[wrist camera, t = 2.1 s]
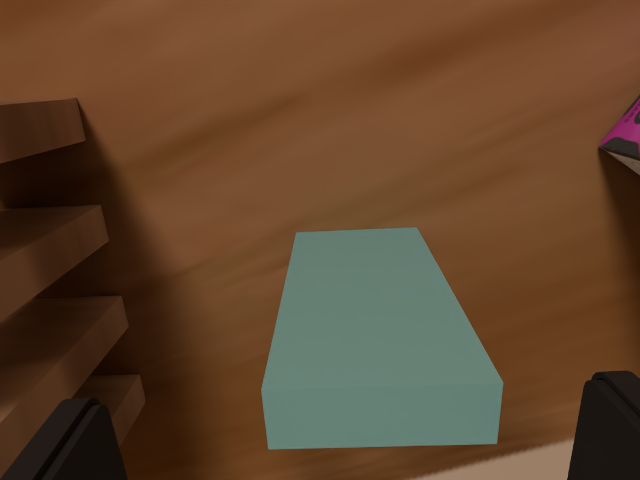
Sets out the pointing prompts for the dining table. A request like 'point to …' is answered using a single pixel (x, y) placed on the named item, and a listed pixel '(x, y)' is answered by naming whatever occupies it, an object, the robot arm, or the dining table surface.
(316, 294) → the teal domino
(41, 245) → the domino
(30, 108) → the domino
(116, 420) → the domino
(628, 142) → the candy bar box
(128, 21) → the dining table surface
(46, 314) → the domino
